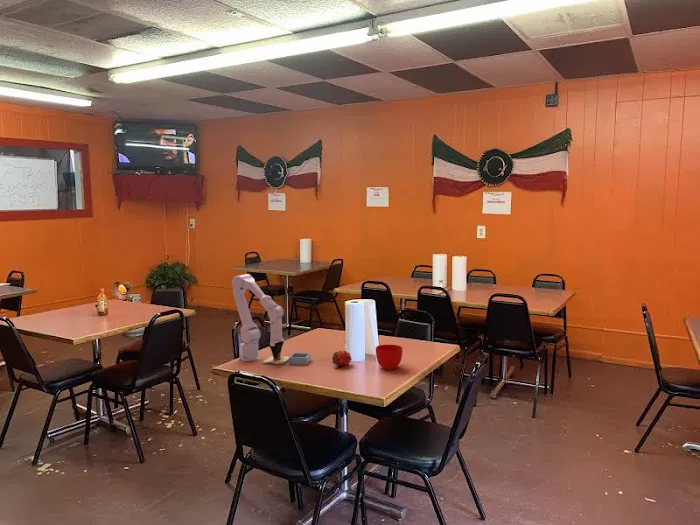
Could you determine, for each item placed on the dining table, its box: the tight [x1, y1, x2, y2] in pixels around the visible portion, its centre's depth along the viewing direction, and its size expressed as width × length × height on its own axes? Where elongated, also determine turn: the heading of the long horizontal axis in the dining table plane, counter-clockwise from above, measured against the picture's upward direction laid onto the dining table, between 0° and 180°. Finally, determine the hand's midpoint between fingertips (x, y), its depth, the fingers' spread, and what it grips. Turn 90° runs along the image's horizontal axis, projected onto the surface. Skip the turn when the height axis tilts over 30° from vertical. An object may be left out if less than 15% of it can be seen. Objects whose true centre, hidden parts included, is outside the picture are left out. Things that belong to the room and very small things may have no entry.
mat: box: [260, 360, 289, 366], centre depth 275 cm, size 13×13×1 cm
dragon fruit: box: [331, 350, 352, 368], centre depth 267 cm, size 8×8×12 cm
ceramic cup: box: [375, 344, 403, 371], centre depth 264 cm, size 13×17×10 cm
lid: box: [262, 353, 290, 364], centre depth 275 cm, size 11×11×4 cm
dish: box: [288, 352, 312, 366], centre depth 273 cm, size 9×9×4 cm
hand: (276, 356), depth 275 cm, fingers closed on lid, 4 cm apart
